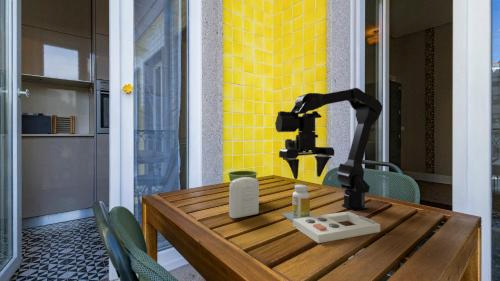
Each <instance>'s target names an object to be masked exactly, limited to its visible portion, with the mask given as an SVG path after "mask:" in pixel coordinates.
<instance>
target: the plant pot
mask: <svg viewBox="0 0 500 281" xmlns="http://www.w3.org/2000/svg"><path fill="white" fill-rule="evenodd" d="M227 175H228V177H229V181H230V182H231V181H233V180H235V179H238V178H242V177H250V178H254V179H257V175H258V172H257V171H254V170H233V171H230V172H228V173H227Z"/></svg>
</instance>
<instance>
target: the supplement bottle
mask: <svg viewBox="0 0 500 281" xmlns="http://www.w3.org/2000/svg"><path fill="white" fill-rule="evenodd" d="M308 188H309V186H308V185H305V184H295V185H294V192H293V193H292V203H291V204H292V206H291V207H292V211H291V212H292V215H293V216H294V217H295V218H305V217H309V216H310V214H311V208H310V207H311V206H310V205H311V204H310V203H311V200H310V198H311V196H310V193H309V192H308V190H309V189H308Z"/></svg>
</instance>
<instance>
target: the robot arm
mask: <svg viewBox="0 0 500 281" xmlns="http://www.w3.org/2000/svg"><path fill="white" fill-rule="evenodd" d="M345 101H348V102H349V104H350V106H351V108H352V109H353V110H354V111H355V119H356V122H357V124H356V128H355V131H354V135H353V138H352V142H351V146H350V149H349V153H348V157H347V159H346V161H345V162H344V163H339V165H338V171H337V172H336V175H337V180H338V181H339V183H340V186H341V188H342V189H343V190H344V194H343V203H341V206H342V207H344V208H347V209H350V210H353V211H361V210H367V209H368V208H369V206H366V205H365V201H366V200H365V198H366V197H365V195H366V194H367V193H369V191H370V187H371V186H370V185H369V184H368V183H367V182H366V181H365V179H364V178H365V177H364V176H365V171H364V170H365V169H364V167H363V160H364V158H365V153H366V150H367V146H368V142H369V138H370V135H371V131H372V127H373V125H374V124H375V123H376V122H377V121H378V120H379V118H380V116H381V114H382V112H383V105H382V102H381V101H380V100H379V99H376V98H375V97H374V96H373V95H370V94H368V93H366V92H364V91H362V90H361V89H360V88H358V87H353V88H350V89H344V90H341V91H334V92H329V93H320V92H309V93H308V92H307V93H305V94H302V95H298V96H297V98H296V99H295V104H294V106H293V107H292V108H291V110H290V111H282V110H281V111H278V112H277V116H276V117H275V118H276V119H275V121H274V122H275V123H274V124H275V130H276V132H278V133H295V132H296V131H297V134H296V135H295V139H294V140H292V138H289V139H288V138H287V139H285V140H284V146H285V148H281V149H280V150H279V152H278V157H279V158H281V159H282V160H283V161H286V162H287V164H288V166H289V168H290V170H291V171H290V172H291V173H292V176H293V179H294V180H297V179H298V176H299V168H300V167H299V165H300V159H299V158H298V157H299V156H313V155H314V158H315V160H316V177H317V178H319V177H321V176H322V173H323V171H324V169H325V168H326V165H327V163H328V162H329V161H330V159H332V157H333V156H335V149H334V148H333V147H331V146H316V145H317V143H316V142H317V141H316V140H317V139H318V138H319V134H316V133H317V132H316V131H317V130H316V126H317V125H316V119H321V118H322V117H323V116H322V115H321V114H320V113H319V112H318V111H317V109H319V108H322V107H325V106H326V105H329V104H336V103H341V102H345ZM309 112H310V113H309ZM299 115H300V116H299ZM301 115H302V116H301Z"/></svg>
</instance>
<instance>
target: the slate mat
mask: <svg viewBox="0 0 500 281" xmlns="http://www.w3.org/2000/svg"><path fill="white" fill-rule="evenodd" d="M280 214H281V216H282V215H283V216H282V217H284V218H285V217H286V218H285V219H287V220H288V219H289V221H290V222H292V223H293V219H297V218H295V217H294V216H293V215H292V211H291V212H285V213H284V212H283V213H282V212H281V213H280ZM312 216H315V215H314V214H312V213H310V216H309V217H312Z"/></svg>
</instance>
